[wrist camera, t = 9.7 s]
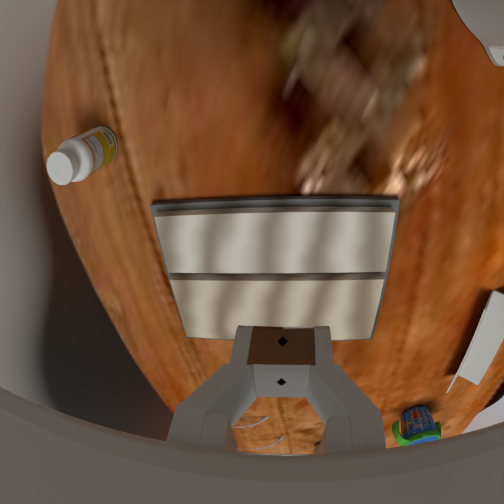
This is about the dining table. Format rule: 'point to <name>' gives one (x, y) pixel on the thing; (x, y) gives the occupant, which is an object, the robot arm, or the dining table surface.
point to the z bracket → (484, 341)
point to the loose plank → (277, 302)
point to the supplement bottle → (82, 155)
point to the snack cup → (416, 427)
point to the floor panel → (277, 236)
